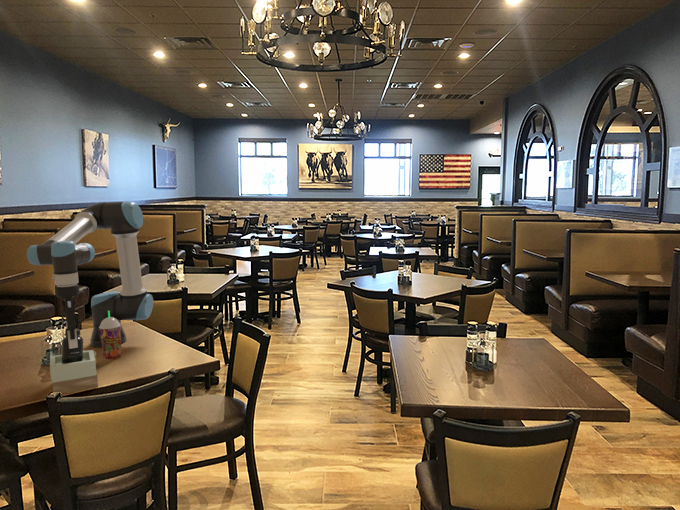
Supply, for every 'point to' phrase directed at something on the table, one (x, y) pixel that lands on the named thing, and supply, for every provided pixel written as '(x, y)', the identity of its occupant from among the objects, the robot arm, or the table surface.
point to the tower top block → (72, 368)
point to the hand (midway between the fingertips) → (72, 343)
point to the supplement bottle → (73, 353)
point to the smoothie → (110, 337)
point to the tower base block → (76, 384)
